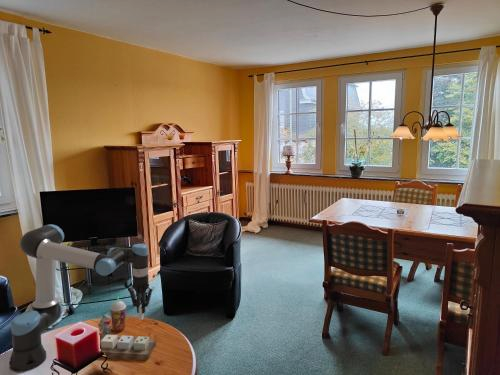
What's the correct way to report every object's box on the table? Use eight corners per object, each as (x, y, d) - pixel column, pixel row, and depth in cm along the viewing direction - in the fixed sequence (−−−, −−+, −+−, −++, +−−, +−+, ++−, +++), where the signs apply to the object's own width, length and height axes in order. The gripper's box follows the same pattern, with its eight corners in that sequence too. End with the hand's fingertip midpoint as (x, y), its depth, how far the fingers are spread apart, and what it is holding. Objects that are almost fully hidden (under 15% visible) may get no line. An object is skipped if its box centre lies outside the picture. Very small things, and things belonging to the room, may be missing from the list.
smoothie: (112, 326, 199) (112, 293, 196) (127, 325, 200) (127, 293, 198) (109, 334, 191) (108, 300, 188) (125, 332, 192) (124, 299, 189)
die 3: (133, 350, 172) (133, 342, 172) (138, 343, 178) (138, 335, 178) (145, 351, 172) (145, 343, 172) (149, 344, 178) (149, 336, 178)
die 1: (101, 348, 173) (100, 340, 173) (106, 342, 179) (106, 334, 179) (112, 349, 173) (112, 341, 172) (117, 342, 179) (117, 334, 178)
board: (93, 356, 170) (92, 351, 170) (105, 341, 183) (105, 336, 183) (147, 360, 169) (147, 354, 168) (156, 344, 182) (156, 339, 181)
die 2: (117, 349, 173) (117, 341, 172) (122, 342, 179) (122, 335, 178) (128, 350, 173) (128, 342, 172) (133, 343, 178) (133, 335, 178)
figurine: (99, 343, 181) (98, 317, 179) (96, 336, 188) (96, 311, 186) (115, 339, 186) (114, 313, 184) (112, 332, 192) (111, 307, 190)
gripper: (124, 277, 167) (125, 321, 170) (150, 278, 166) (151, 323, 169) (130, 271, 174) (131, 314, 177) (155, 272, 173) (156, 315, 177)
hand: (141, 318), depth 173 cm, fingers closed
